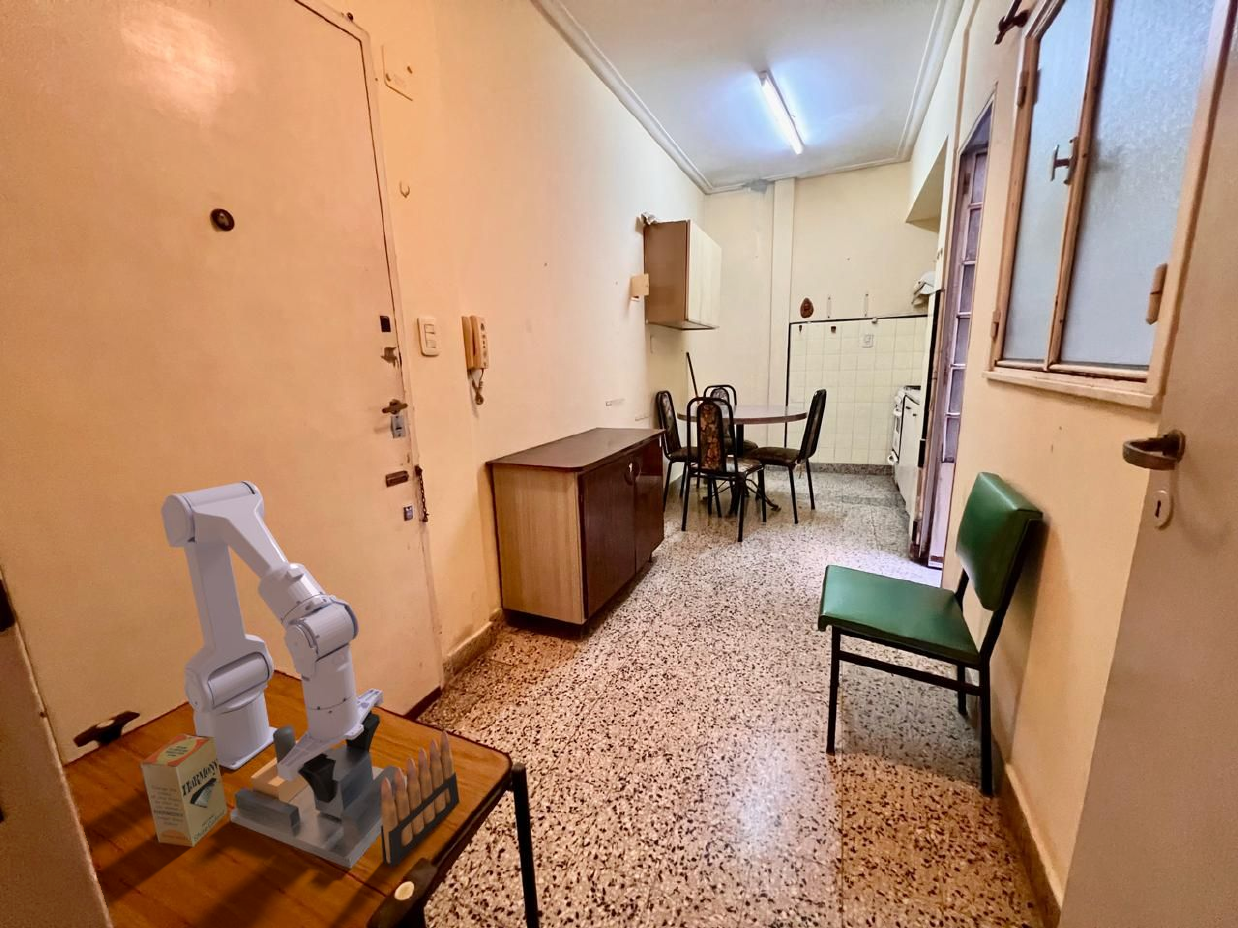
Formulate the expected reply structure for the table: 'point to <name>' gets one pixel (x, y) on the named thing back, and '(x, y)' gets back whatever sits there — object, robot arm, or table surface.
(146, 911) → the table surface
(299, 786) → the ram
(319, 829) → the frame
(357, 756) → the housing
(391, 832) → the ammunition clip
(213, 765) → the shoe polish box
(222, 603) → the robot arm
